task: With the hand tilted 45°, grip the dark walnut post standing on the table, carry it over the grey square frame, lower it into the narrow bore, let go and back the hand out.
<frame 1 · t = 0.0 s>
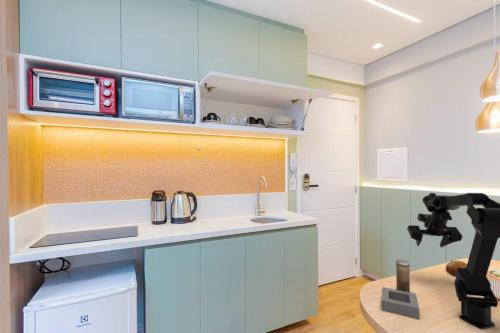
hand: (428, 245, 111), 15 cm above the table, tool tilted 35°, fingers open, 9 cm apart
grey square frame: (399, 306, 89), on the table
bread roll: (459, 275, 115), on the table
post: (403, 293, 98), on the table
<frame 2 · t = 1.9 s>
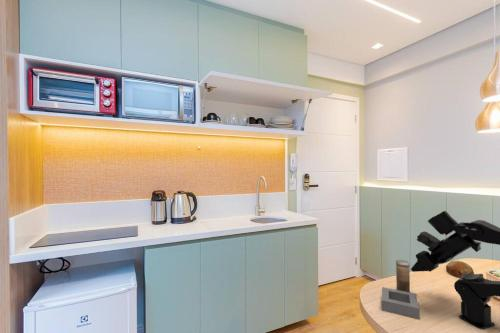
hand: (417, 267, 94), 12 cm above the table, tool tilted 45°, fingers open, 9 cm apart
nothing on the table moved.
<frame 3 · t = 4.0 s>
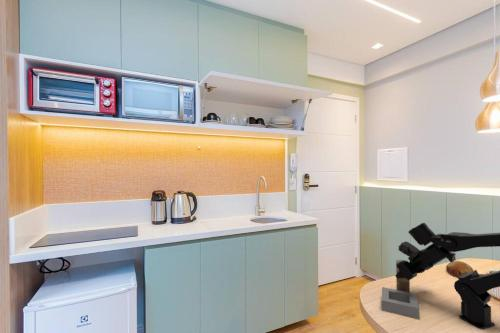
hand: (399, 275, 99), 7 cm above the table, tool tilted 45°, fingers closed on post, 4 cm apart
post: (403, 293, 98), on the table, touching gripper
everything else where it was.
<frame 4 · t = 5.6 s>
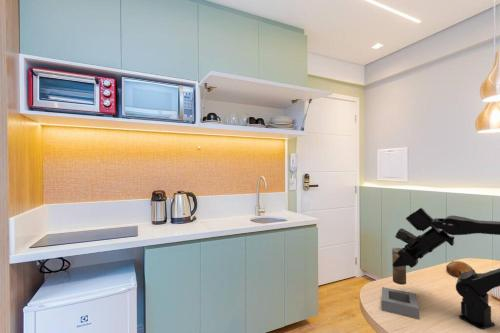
hand: (395, 263, 96), 12 cm above the table, tool tilted 45°, fingers closed on post, 4 cm apart
post: (399, 281, 95), point 6 cm above the table, touching gripper
everything else where it was.
when the fingers open (8 cm above the table, at t = 7.4 s): post drops 2 cm, resting in grey square frame.
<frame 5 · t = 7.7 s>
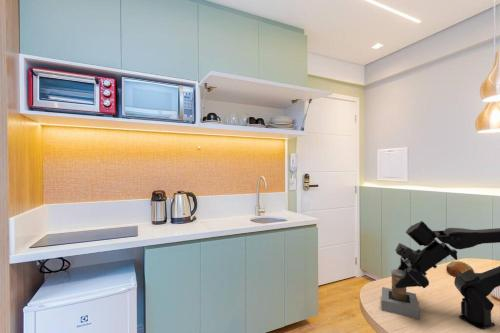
hand: (394, 282, 90), 9 cm above the table, tool tilted 45°, fingers open, 8 cm apart
post: (399, 306, 89), resting in grey square frame
everything else where it was.
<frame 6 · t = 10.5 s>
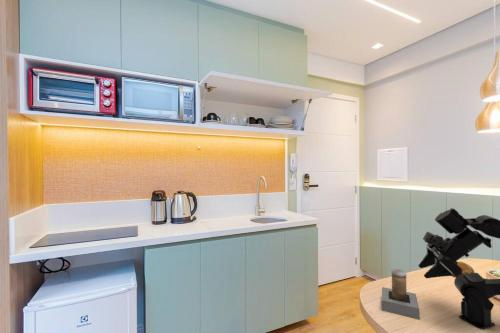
hand: (422, 271, 86), 14 cm above the table, tool tilted 45°, fingers open, 9 cm apart
nothing on the table moved.
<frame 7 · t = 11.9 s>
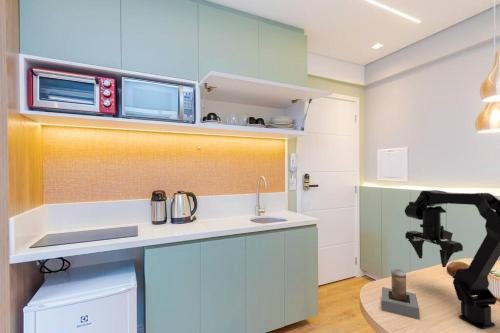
hand: (431, 262, 96), 13 cm above the table, tool pointing down, fingers open, 9 cm apart
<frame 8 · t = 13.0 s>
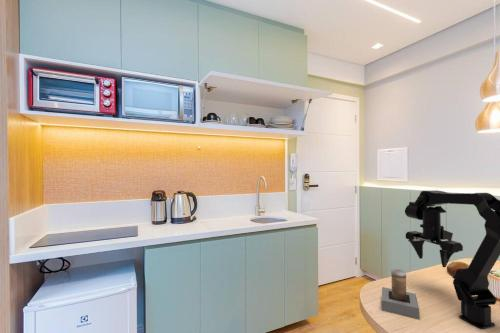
hand: (432, 262, 96), 13 cm above the table, tool pointing down, fingers open, 9 cm apart
at the end: post 0.0 cm off-centre on the grey square frame, point 0.0 cm above the grey square frame's base; post tilted 0°; the gripper is holding nothing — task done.
